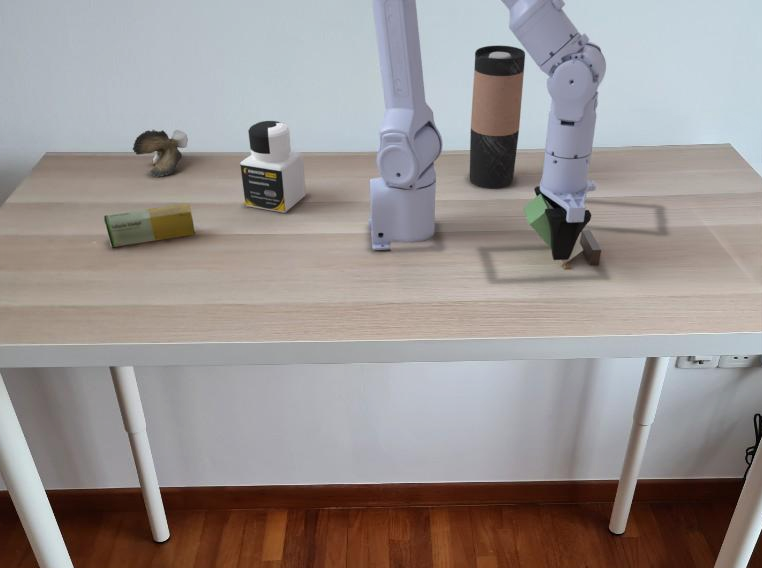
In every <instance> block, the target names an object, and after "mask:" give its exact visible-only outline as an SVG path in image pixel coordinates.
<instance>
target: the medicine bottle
mask: <svg viewBox="0 0 762 568" xmlns="http://www.w3.org/2000/svg"><path fill="white" fill-rule="evenodd" d="M247 133H248V140H249V141H248V142H249V148H250V154H251V155H249V156H247V157H246V158H244V159H243V160H241V162H240V163H239V165H240V173H241V180H242V189H243V197H244V204H245V206H246V207H249V208H254V209H260V210H266V211H271V212H276V213H277V212H278V213H282V214H286V213H287V212H288V211H289V210H290V209H292V208H293V207H294V206H296V204H297V203H299V202H300V201H301V200H302V199H303V198H305V197H306V194H307V192H306V180H305V179H306V178H305V166H304V154H303V153H302V152H299V151H294V150H292V147H291V135H290V127H289V126H288V125H287V124H286V123H284V122H280V121H277V120H265V121H264V120H263V121H259V122H256V123H254V124H253V125H250V127H249V129H248V132H247Z"/></svg>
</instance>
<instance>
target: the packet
mask: <svg viewBox="0 0 762 568" xmlns="http://www.w3.org/2000/svg"><path fill="white" fill-rule="evenodd" d="M545 209H553V207H552V206H551V205H550V204H549V203H548V202H547V200H546V199H545V198H544V197H543V196H542V195H541V194H539V195H538V196H535V197H534V198H533V199H531V200H530V201H529V202H528V203H527V204H526V205H524V206H523V207H522V211H523V213H524V214H525V217H526V219H527V222H528V224H529V226H530V227H531V228H532V229H533V230H534V231H535V232H536V233H537V235H538V236H539V237H540V238H541V240H543V241H544V243H545V244H546V245H547V246H548V247H549V248H550V249H551V230H550V225H549V221H548V218H547V216H546V213H545ZM582 252H583V248H582V246H581V245H580V240H579V238H578V239H577V241H576V243H575V246H574V248H573V251H572V253H571V256H570V258H569V259H568V260H561V262H562V263H563V264H564V263H568V262H570V261H571V260H573V259H574V258H575V257H577V256H578V255H579V254H580V253H582Z"/></svg>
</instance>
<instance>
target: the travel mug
mask: <svg viewBox="0 0 762 568" xmlns="http://www.w3.org/2000/svg"><path fill="white" fill-rule="evenodd" d="M525 63H526V52H525V50H524V49H522V48H520V47H516V46H510V45H487V46H482V47H479V48H477V49H476V50H475V52H474V68H473V69H474V70H473V71H474V72H473V86H472V100H471V117H470V136H469V137H470V138H469V139H470V141H469V142H470V143H469V150H470V151H469V181H470V183H471V184H473V185H475V186H476V187H479V188H484V189H502V188H505V187H508V186H510V185H511V184H512V183H513V181H514V174H515V166H516V160H517V159H516V158H517V151H518V142H519V134H520V123H521V112H522V111H521V110H522V101H523V99H522V98H523V88H524V87H523V86H524V73H525Z"/></svg>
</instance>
